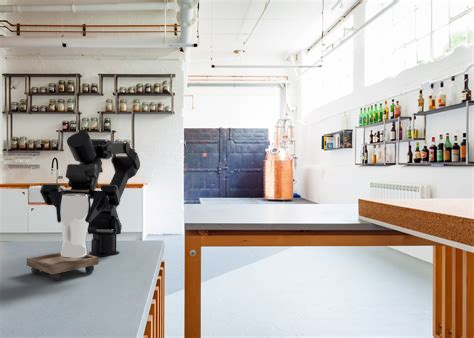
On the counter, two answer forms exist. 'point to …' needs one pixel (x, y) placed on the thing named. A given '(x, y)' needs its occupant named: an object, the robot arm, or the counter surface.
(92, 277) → the counter surface
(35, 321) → the counter surface
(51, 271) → the walnut dolly
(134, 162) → the robot arm
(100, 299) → the counter surface
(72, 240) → the beer glass
